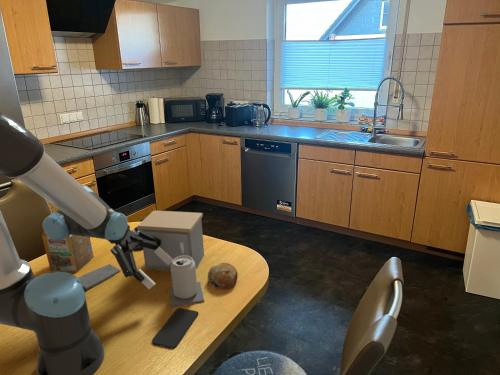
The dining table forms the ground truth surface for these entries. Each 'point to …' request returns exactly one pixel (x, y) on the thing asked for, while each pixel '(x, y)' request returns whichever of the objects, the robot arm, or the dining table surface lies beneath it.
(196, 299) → the mat
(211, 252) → the dining table surface
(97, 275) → the cleaver
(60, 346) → the robot arm
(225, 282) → the bread roll
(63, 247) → the milk carton
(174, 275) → the can
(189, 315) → the phone
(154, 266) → the cabinet
